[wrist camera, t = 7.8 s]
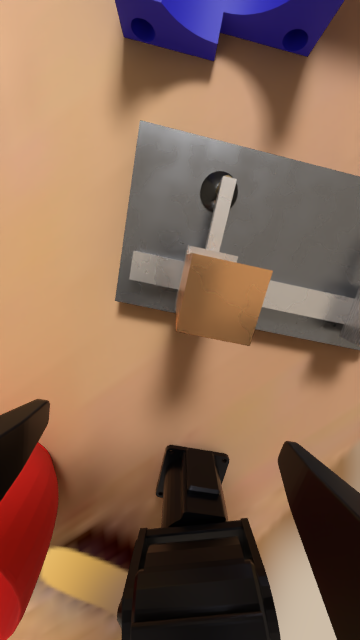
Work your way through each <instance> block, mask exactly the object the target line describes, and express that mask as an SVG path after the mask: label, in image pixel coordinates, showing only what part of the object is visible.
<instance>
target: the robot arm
mask: <svg viewBox="0 0 360 640" xmlns="http://www.w3.org/2000/svg"><path fill="white" fill-rule="evenodd" d="M49 409H50V403H49V401H48V400H42V399H36V400H34V401H31V402H29V403H27V404H25V405H22V406H20V407H18V408H16V409H13V410H11V411H9V412H6V413H4V414H2V415H0V501H1V500H2V499H3V497H4V496H5V494H6V493H7V491H8V490H9V488H10V487H11V485H12V484H13V483H14V481H15V480H16V478H17V477H18V475H19V474H20V472H21V471H22V469H23V467H24V466H25V464H26V462H27V461H28V459H29V457H30V455H31V453H32V452H33V450H34V448H35V446H36V444H37V443H38V441H39V439H40V437H41V436H42V434H43V432H44V430H45V428H46V426H47V424H48V421H49ZM170 450H172V451H170ZM228 464H229V457H228V455H227V454H224V453H218V452H212V451H206V450H200V449H193V448H187V447H181V446H175V445H169V446H167V448H166V451H165V455H164V460H163V464H162V468H161V472H160V476H159V480H158V485H157V489H156V495H157V496H158V497H161V498H163V508H162V525H161V528H154V529H147V528H140V531H139V535H138V540H136V543H135V547H134V551H133V555H132V559H131V563H130V567H129V571H128V575H127V580H126V584H125V588H124V592H123V596H122V599H121V602H120V604H119V607H118V612H117V621H118V623H119V625H120V627H121V629H122V640H281V639H280V632H279V627H278V620H277V616H276V611H275V606H274V602H273V597H272V593H271V590H270V585H269V582H268V578H267V575H266V572H265V568H264V565H263V563H262V560H261V557H260V554H259V551H258V548H257V545H256V542H255V539H254V536H253V533H252V530H251V527H250V524H249V521H248V519H247V518H242V519H241V520H236V521H228V516H227V511H226V506H225V501H224V496H223V491H222V482H223V479H224V476H225V473H226V470H227V467H228ZM278 465H279V469H280V473H281V476H282V480H283V484H284V488H285V492H286V495H287V499H288V503H289V506H290V509H291V512H292V515H293V518H294V520H295V524H296V526H297V529H298V532H299V535H300V537H301V540H302V543H303V546H304V549H305V552H306V554H307V557H308V560H309V563H310V565H311V568H312V571H313V574H314V576H315V579H316V582H317V585H318V588H319V590H320V593H321V596H322V599H323V602H324V604H325V607H326V610H327V613H328V616H329V618H330V621H331V624H332V627H333V629H334V632H335V635H336V638H337V640H360V493H359V492H357V491H356V490H355V489H354V488H352V487H351V486H350V485H349V484H347V483H346V482H345V481H344V480H342V479H341V478H340V477H339V476H338V475H336V474H335V473H334V472H333V471H331V470H330V469H329V468H328V467H326V466H325V465H324V464H323V463H321V462H320V461H319V460H318V459H316V458H315V457H314V456H313V455H311V454H310V453H309V452H308V451H306V450H305V449H304V448H303V447H302V446H300V445H299V444H298V443H296V442H291V441H286V442H284V444H283V447H282V449H281V452H280V454H279V457H278Z"/></svg>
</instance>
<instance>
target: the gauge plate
mask: <svg viewBox="0 0 360 640" xmlns="http://www.w3.org/2000/svg"><path fill="white" fill-rule="evenodd" d="M226 175H229V176H231V177H232V178H234V179H237V181H236V185H235V189H234V193H233V197H232V201H231V206H230V210H229V214H228V218H227V222H226V226H225V230H224V234H223V238H222V242H221V246H220V250H219V252H221V253H225V254H230V255H234V256H238V259H237V263H240V264H245V265H249V266H254V267H258V268H263V269H267V270H272V271H273V273H272V276H271V279H270V282H269V285H268V289H267V292H266V295H265V298H264V301H263V305H262V308H261V311H260V314H259V318H258V321H257V324H256V327H255V329H257V330H262V331H267V332H272V333H277V334H282V335H287V336H292V337H297V338H302V339H307V340H312V341H317V342H322V343H326V344H331V345H336V346H341V347H346V348H351V349H356V350H360V177H359V176H355V175H352V174H348V173H344V172H340V171H336V170H332V169H328V168H324V167H320V166H316V165H313V164H309V163H305V162H301V161H297V160H293V159H289V158H285V157H281V156H277V155H274V154H270V153H266V152H262V151H258V150H254V149H250V148H246V147H242V146H238V145H235V144H231V143H227V142H223V141H219V140H215V139H211V138H207V137H203V136H199V135H196V134H192V133H188V132H184V131H180V130H176V129H172V128H168V127H164V126H161V125H157V124H153V123H149V122H145V121H141V120H140V125H139V132H138V139H137V146H136V154H135V161H134V168H133V175H132V182H131V190H130V197H129V204H128V211H127V218H126V226H125V233H124V240H123V247H122V254H121V262H120V269H119V276H118V283H117V290H116V298H115V301H118V302H123V303H128V304H133V305H138V306H143V307H148V308H153V309H158V310H163V311H168V312H173V313H176V311H175V301H176V296H177V291H178V286H179V282H180V277H181V272H182V267H183V262H184V258H185V253H186V248H187V246H188V245H189V246H194V247H198V248H203V249H205V246H206V241H207V237H208V233H209V228H210V224H211V219H212V215H213V211H214V206H215V202H216V198H217V194H216V188H217V186H218V185H219V183H220V180H221V178H222V177H223V176H226Z"/></svg>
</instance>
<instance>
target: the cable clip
mask: <svg viewBox="0 0 360 640" xmlns="http://www.w3.org/2000/svg"><path fill="white" fill-rule="evenodd" d="M343 2H344V0H115V3H116V7H117V11H118V15H119V19H120V23H121V27H122V32H123V36H124V37H125V38H129V39H133V40H137V41H140V42H144V43H148V44H152V45H155V46H159V47H163V48H166V49H170V50H174V51H178V52H181V53H185V54H189V55H193V56H196V57H200V58H204V59H208V60H211V61H214V59H215V54H216V49H217V44H218V38H219V33H223V34H227V35H230V36H234V37H238V38H241V39H245V40H249V41H252V42H256V43H259V44H263V45H267V46H270V47H274V48H278V49H281V50H285V51H288V52H292V53H296V54H299V55H303V56H306V57H308V55H309V54H310V52H311V51H312V49H313V48H314V46H315V45H316V43H317V41H318V40H319V38H320V37H321V35H322V34H323V32H324V31H325V29H326V28H327V26H328V25H329V23H330V22H331V20H332V19H333V17H334V16H335V14H336V12H337V11H338V9H339V8H340V6H341V5H342V3H343Z"/></svg>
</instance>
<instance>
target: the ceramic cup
mask: <svg viewBox="0 0 360 640" xmlns="http://www.w3.org/2000/svg"><path fill="white" fill-rule="evenodd" d="M57 510H58V482H57V477H56V473H55V470H54V467H53V464H52V459H51V456H50V455H49V453H48V451H47V450H46V449H45V448H44V447H43V446H42V445H41V444H39V443H37V444H36V446H35V448H34V450H33V452H32V453H31V455H30V457H29V459H28V461H27V462H26V464H25V466H24V467H23V469H22V471H21V472H20V474H19V475H18V477H17V478H16V480H15V481H14V483H13V484H12V485H11V487H10V488H9V490H8V491H7V493H6V494H5V496H4V497H3V499H2V500H1V501H0V640H7V639H8V638H9V637H10V636H11V635H12V634H13V633H14V631H15V630H16V628H17V626H18V624H19V622H20V621H21V619H22V617H23V615H24V613H25V610H26V608H27V606H28V603H29V601H30V598H31V596H32V593H33V590H34V588H35V585H36V583H37V580H38V577H39V574H40V572H41V569H42V566H43V563H44V560H45V557H46V554H47V551H48V548H49V545H50V541H51V538H52V534H53V530H54V525H55V521H56V516H57Z"/></svg>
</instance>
